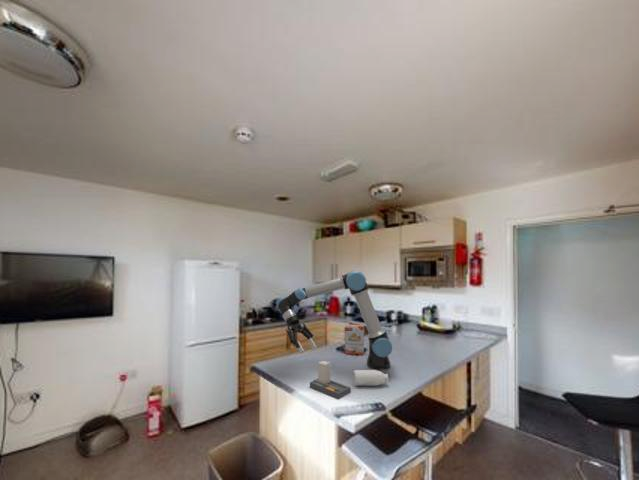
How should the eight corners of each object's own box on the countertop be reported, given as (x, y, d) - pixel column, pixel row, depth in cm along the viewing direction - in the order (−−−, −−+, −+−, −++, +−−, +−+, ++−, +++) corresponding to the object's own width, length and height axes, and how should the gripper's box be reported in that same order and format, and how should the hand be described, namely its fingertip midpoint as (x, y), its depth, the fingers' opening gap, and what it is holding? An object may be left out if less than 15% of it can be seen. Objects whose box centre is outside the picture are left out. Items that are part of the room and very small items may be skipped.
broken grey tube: (390, 388, 146) (389, 373, 147) (354, 388, 146) (354, 373, 147) (386, 382, 154) (386, 367, 155) (353, 382, 154) (352, 367, 155)
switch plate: (309, 387, 148) (309, 380, 148) (322, 381, 155) (322, 375, 156) (338, 399, 134) (338, 391, 135) (350, 392, 142) (350, 385, 142)
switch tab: (318, 381, 148) (318, 362, 149) (323, 379, 151) (323, 360, 152) (325, 384, 145) (325, 364, 146) (330, 382, 148) (330, 362, 149)
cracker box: (345, 354, 204) (344, 325, 207) (345, 352, 210) (345, 324, 213) (364, 355, 202) (363, 326, 204) (364, 352, 208) (363, 324, 210)
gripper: (301, 320, 179) (318, 350, 167) (274, 325, 164) (291, 358, 151) (306, 312, 176) (325, 342, 164) (279, 317, 161) (297, 350, 148)
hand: (308, 350), depth 157 cm, fingers open, 9 cm apart
